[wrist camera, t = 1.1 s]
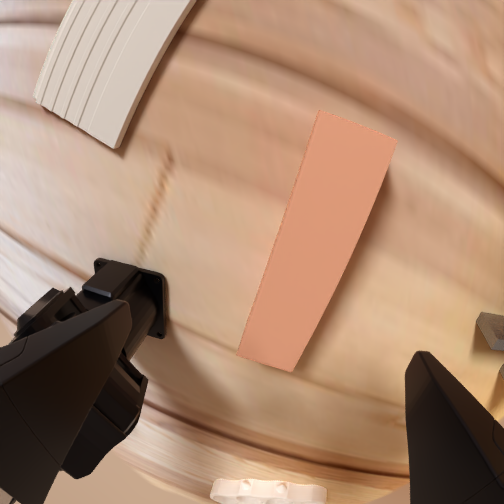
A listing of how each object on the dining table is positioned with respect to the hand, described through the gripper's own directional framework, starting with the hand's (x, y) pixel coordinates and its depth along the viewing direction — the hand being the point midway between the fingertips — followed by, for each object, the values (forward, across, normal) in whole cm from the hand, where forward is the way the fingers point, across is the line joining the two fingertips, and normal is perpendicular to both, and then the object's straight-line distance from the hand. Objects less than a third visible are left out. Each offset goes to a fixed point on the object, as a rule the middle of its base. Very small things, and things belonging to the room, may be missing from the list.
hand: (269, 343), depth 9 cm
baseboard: (+13, +11, -20) cm, 26 cm away
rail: (+12, -1, +2) cm, 13 cm away
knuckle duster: (+13, -4, +45) cm, 47 cm away
